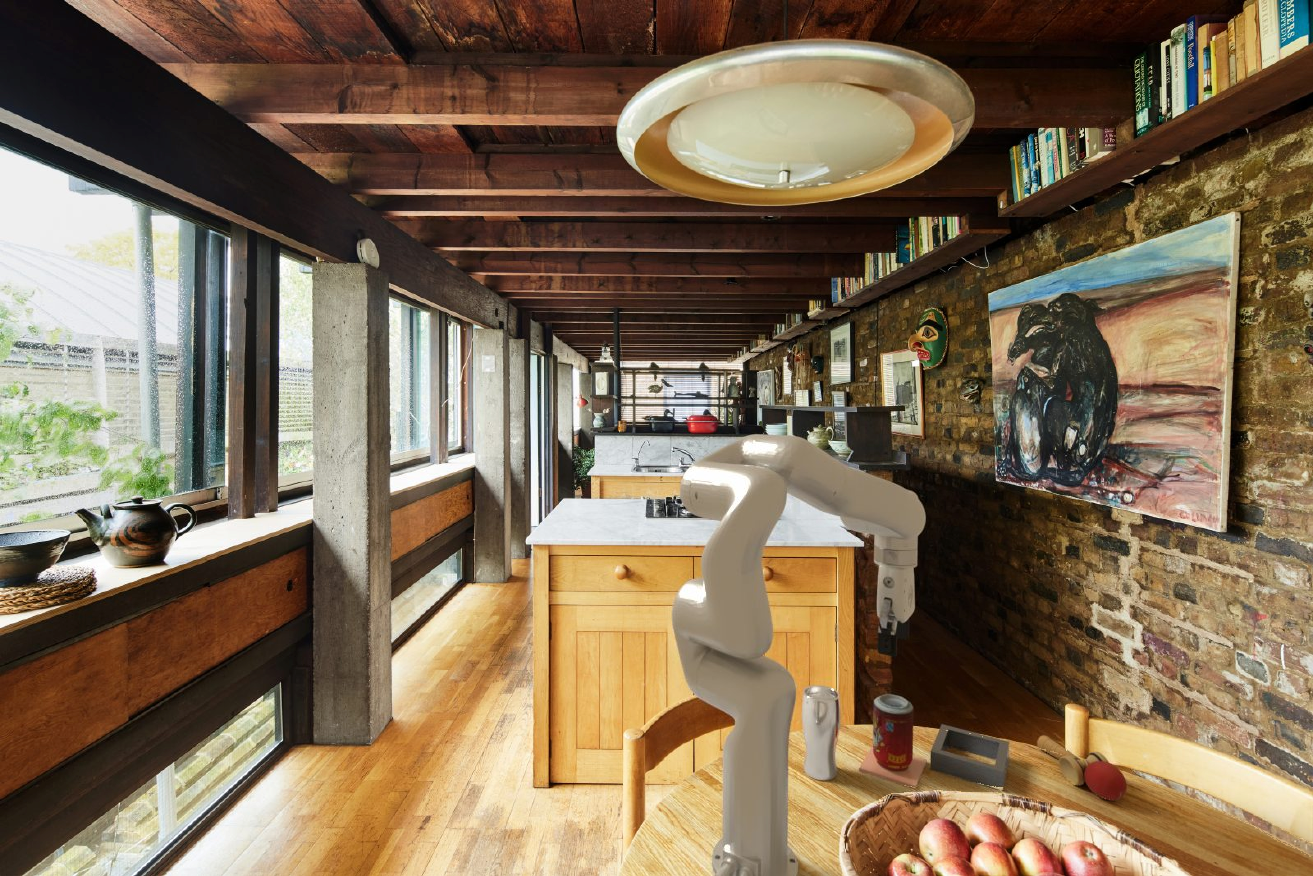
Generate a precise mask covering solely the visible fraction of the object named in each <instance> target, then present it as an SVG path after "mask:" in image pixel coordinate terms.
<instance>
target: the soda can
mask: <svg viewBox="0 0 1313 876" xmlns="http://www.w3.org/2000/svg"><path fill="white" fill-rule="evenodd" d="M914 711H915V710H914V706H913V704H912V703H911V702H910V701H909V700H907V699H906V698H904V697H903V696H900V695H895V694H890V693H886V694H882V695H879V696H877V697H876V698H874V700H873V711H872V712H873V713H872V714H873V716H872V717H873V721H872V722H873V723H872V734H873V735H872V736H873V737H872V745H873V753H874V756H875V758H876V760H877V764H878V765H879V766H880V767H881V768H883V769H885V770H887V771H891V772H904V771H906V770H908V767H909V765H910V764H911V762H912V759H913V756H914V755H913V754H914V752H913V751H914V717H915V715H914Z"/></svg>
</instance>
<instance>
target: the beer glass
mask: <svg viewBox="0 0 1313 876" xmlns="http://www.w3.org/2000/svg"><path fill="white" fill-rule="evenodd" d="M802 693H803V694H802V703H801V722H802V731H803V735H804V741H805V758H804V763H803V770H804V773H805V775H807V776H808V777H810V778H812V779H814V780H818V781H822V782H823V781H825V782H826V781H827V782H828V781H831V780H834V779H835V778H837V775H838V767H837V759H836V750H837V744H838V739H839V734H840V728H841V701H840V699H841V698H840V696H841V695H840V693H839V691H837V690H836V689H835V688H833V687H830V686H826V685H821V684H820V685H819V684H816V685H814V684H813V685H809V686H806V687H804V689H803V690H802Z"/></svg>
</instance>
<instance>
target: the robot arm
mask: <svg viewBox="0 0 1313 876" xmlns="http://www.w3.org/2000/svg"><path fill="white" fill-rule="evenodd" d="M788 494H789V495H791V496H793V497H794V498H796V499H798V500H800V501H802V502H804V503H805V504H807V505H809V506H811V507H813V508H814V509H816V510H818V511H820V512H823V513H825V514H829V515H833V516H836V517H839V518H840V521H841V522H842V524H843V525H844V526H845V527H846V528H847V529H849V530H851V531H853V532H857V533H861V534H867V535H873V536H874V540H873V541H874V543H873V545H874V546H873V550H874V551H873V563H874V564H876V566H877V565H878V575H877V592H876V593H877V594H876V615H877V617H878V618H879V622H878V628H877V630H878V632H877V652H878V654H879V655H884V656H888V657H891V658H892V657H893V658H896V657H897V655H898V639H899V640H904V641H909V638H910V619H909V618H910V617H911V616H912V615H913V613H914V612H915V609H916V598H915V597H916V596H915V594H916V593H915V592H916V591H915V572H914V568H916V567H917V566H918V537H919V535H920V534H921V533H922V532H923V530H924V528H925V525H926V518H927V517H926V512H925V508H924V505H923V503H922V502H921V501H920V499H919V496H918V495H917V493H915V492H914V491H913V490H909V489H906V488H904V487H903V486H901V485H899V484H896V483H894V482H892V481H889V480H887V479H884V478H881V477H878V476H876V475H874V474H873V475H872V474H870V473H868V472H865V471H863V470H861V469H858V468H854V467H851V466H848V465H846V464H845V463H842V462H841V461H839V460H838V459H836V458H835V457H833V456H831V455H830V454H829V453H827V452H826V451H824V450H823V449H821V448H820V447H818V446H817V445H816V444H814V443H812V442H811V441H809V440H807V439H805V438H804V437H800V436H795V435H787V434H785V435H784V434H757V433H755V434H749V435H746V436H742V437H741V438H738V439H737V440H734V441H732V442H730V443H728V444H726V445H725V446H723V447H721V448H719V449H717V450H715V451H714V452H712V453H710V454H708V455H706V456H704V457H702V458H700V459H699V460H697V461H695V462H694V463H693V464H691V465H690V466H689V467H688V468H687V470H686V471H685V472H684V474H683V476H682V478H681V481H680V484H679V497H680V501H681V503H682V505H683V507H685V509H686V510H687V511H688V512H689V513H691V514H692V515H694V516H696V517H698V518H703V519H708V520H713V521H717V522H719V524H718V525H717V527H716V528H715V530H713V532H712V534H711V535H710V537H709V539H708V541H707V542H706V543H705V546H704V549H703V551H702V555H701V559H700V571H701V577H696V578H693V579H690V580H688V581H686V582H685V583H684V584H683V585H681V587H680V588H679V590H678V591H677V593H676V595H675V598H674V600H673V602H672V603H673V604H672V609H671V623H672V624H671V625H672V629H673V634H674V638H675V641H676V643H675V644H676V647H677V650H678V655H679V661H680V665H681V668H682V671H683V675H684V679H685V683H687V684H686V685H687V686H688V688H689V690H690V691H691V692H692V694H693V695H694V696H696V698H698V699H700V700H701V701H702V702H705V703H707V704H708V705H711V706H712V707H714V708H715V709H718V710H720V711H722V712H723V713H726V714H727V715H729V716H731V717H732V718H733V719H734V727H733V728H732V730H730V732H729V734H727V736H726V738H725V740H724V743H723V747H722V838H721V839H719V841H718V842H717V843H716V844H715V846H714V847H713V849H712V853H711V867H712V869H713V872H714V876H799V864H798V863H799V862H798V859H797V856H796V854H795V852H794V851H793V850H792V848H791V847H790V846H789V845H788V838H789V835H788V834H789V833H788V831H789V828H788V827H789V821H788V820H789V819H788V818H789V745H790V734H791V733H790V732H791V727H792V726H791V725H792V719H793V715H794V712H795V707H796V701H797V686H796V682H795V679H794V676H793V675H792V674H791V672H790V671H789V670H788V668H786V667H785V666H784V665H782V664H781V663H779V662H778V661H776V660H774V659H773V658H770V657H767V656H765V654H767V653H768V651H769V650H770V648H771V646H772V644H773V639H774V624H773V618H772V611H771V607H770V601H769V596H768V591H767V587H766V581H765V577H764V576H765V575H764V568H763V554H764V551H765V548H766V545H767V542H768V540H769V538H770V536H771V534H772V532H773V530H774V529H775V527H776V525H777V523H778V522H779V520H780V519H781V517H782V515H783V513H784V512H785V511H784V510H785V508H786V504H787V499H788V498H787V497H788Z"/></svg>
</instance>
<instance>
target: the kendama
mask: <svg viewBox="0 0 1313 876" xmlns="http://www.w3.org/2000/svg"><path fill="white" fill-rule="evenodd" d="M1036 745H1037V748H1038V749H1039V748H1041V749H1046V751H1043V752H1045V753H1046V752H1047V754H1048V753H1049V754H1048V755H1051V756H1053V757H1054V758H1056V759H1058V761H1059V762H1058V765H1059V768H1060V772H1061V774H1062V775H1063V777H1064V778H1065V777H1066V778H1068V779H1070V780H1071V782H1073V783H1075V785H1077V786H1078V785H1079V786H1082V785H1084V783H1085V784H1086V785H1087V787H1088V789H1089V790H1090V791H1091V792H1092V793H1093V794H1094V793H1095V794H1094V795H1096V794H1097V795H1098V796H1097V795H1096V796H1097V797H1099V796H1100V797H1103V798H1106V799H1110V800H1109V801H1114V800H1117V801H1119V799H1121V798H1123V797H1124V796H1125V794H1126V792H1127V785H1128V783H1127V780H1126V778H1125V776H1124V773H1122V772H1121V770H1120V769H1119V768H1118V767H1117V766H1115V765H1113V764H1112V763H1110V761H1108V758H1107V757H1105V755H1104V754H1103V753H1101V752H1099V751H1092V752H1089V754H1088V756H1087V758H1084V759H1080V758H1079V757H1078V756H1076V755H1075V754H1074V753H1072V751H1070V750H1069V749H1067V748H1065V747H1063V745H1060V743H1058V742H1056V741H1055V740H1053V739H1052V738H1050V737H1049V736H1048V735H1044V734H1043V735H1041V736H1039V738H1038V739H1037V741H1036ZM1066 749H1067V751H1066ZM1050 751H1054V752H1057V753H1058V754H1057V753H1053V752H1050ZM1060 754H1062V755H1060ZM1066 778H1065V779H1066ZM1077 786H1076V787H1077ZM1100 797H1099V798H1100ZM1103 798H1102V799H1103ZM1106 799H1105V800H1106Z"/></svg>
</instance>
